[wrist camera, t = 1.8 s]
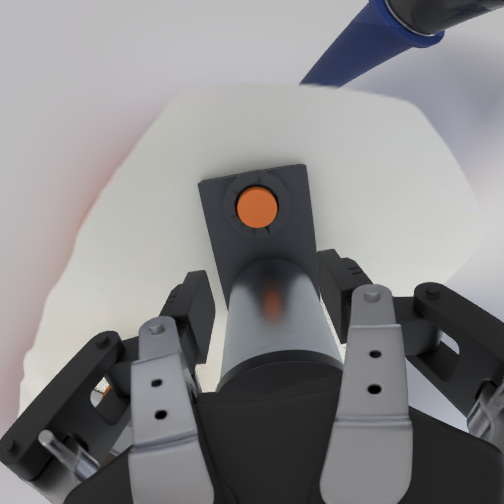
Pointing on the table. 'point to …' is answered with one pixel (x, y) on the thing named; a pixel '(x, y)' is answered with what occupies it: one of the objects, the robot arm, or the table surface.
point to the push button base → (265, 238)
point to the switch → (257, 207)
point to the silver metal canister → (276, 331)
